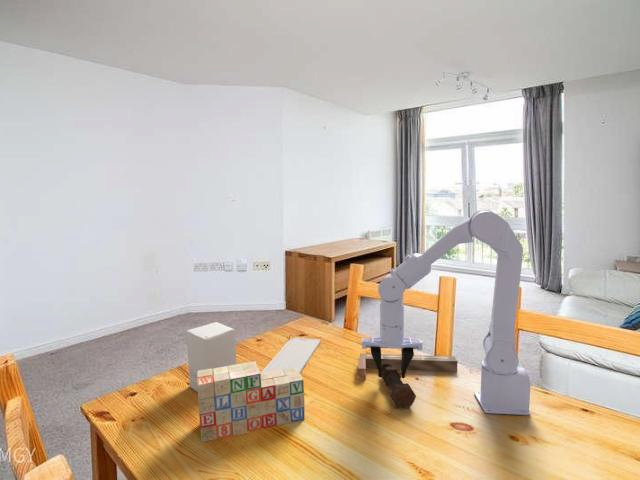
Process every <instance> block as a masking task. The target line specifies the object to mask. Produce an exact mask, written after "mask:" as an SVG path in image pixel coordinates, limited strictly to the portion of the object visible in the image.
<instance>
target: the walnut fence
mask: <svg viewBox="0 0 640 480" xmlns="http://www.w3.org/2000/svg"><path fill="white" fill-rule="evenodd" d="M401 363H402V354H395V353H394V354H388V353H384V354H383V353H381V367H383V366H382V365H383V364H390V365H391V366H392V367H396V369H397V370H398V371H401ZM367 370H378V369H377V366H376V363H375V361H374V359H373V357H372V354H371V353H359V357H358V358H357V380H366V379H367V376H366V374H367V372H366V371H367ZM406 371H419V372H420V371H421V372H423V371H426V372H452V373H455V372H456V373H458V359H457V357H456V356H455V355H453V356H452V355H424V354H414V356H413V358H412V360H411V361H410V363H409V365H408V367H407V370H406Z"/></svg>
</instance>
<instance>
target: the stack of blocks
mask: <svg viewBox="0 0 640 480" xmlns="http://www.w3.org/2000/svg"><path fill="white" fill-rule="evenodd" d="M197 386H198V392H197V402H198V403H197V404H198V415H199V426H200V440H201V443H204V442H209V441H213V440H219V439H223V438H228V437H232V436H238V435H243V434H247V433H250V432H251V433H252V432H254V431H259V430H262V429H266V428H272V427H276V426H277V427H278V426H283V425H286V424H290V423H295V422H296V423H297V422H300V421H304V420H305V418H306V416H305V415H306V414H305V387H304V386H305V384H304V379H303V377H302V375H301V373H299V372H298V370H297V368H296V367H295V368H289V369H284V370H277V371H271V372H265V373H261V370H260V369H259V367H258V365H257V362H256V361H255V360H254V361H248V362H243V363H237V364H236V365H230V366H225V367H219V368H214V369H206V370H199V371H198V375H197Z"/></svg>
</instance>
